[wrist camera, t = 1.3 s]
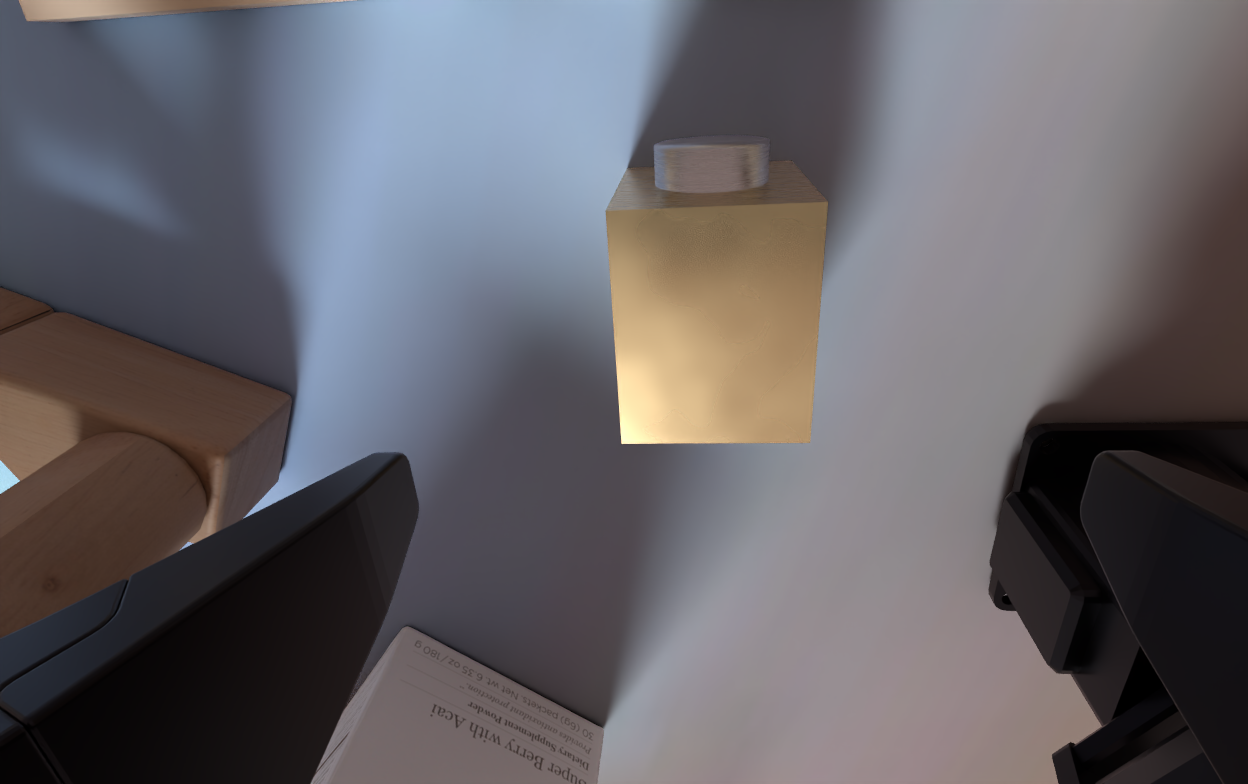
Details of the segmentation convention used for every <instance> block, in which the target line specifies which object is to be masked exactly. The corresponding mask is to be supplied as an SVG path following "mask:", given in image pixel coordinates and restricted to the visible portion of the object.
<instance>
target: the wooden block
mask: <svg viewBox="0 0 1248 784" xmlns="http://www.w3.org/2000/svg"><path fill="white" fill-rule="evenodd" d="M291 405H292V399H291V396H289V395H288V394H287V393H285V392H282V391H279V390H277V389H274V388H271V387H269V386H266V385H263V384H260V383H258V382H255V381H252V380H250V379H247V378H244V377H241V376H239V375H236V374H233V373H231V372H228V371H225V370H222V369H220V368H217V367H214V366H211V365H209V364H206V363H203V362H201V361H198V360H195V359H192V358H190V357H187V356H184V355H182V354H179V353H176V352H173V351H171V350H168V349H165V348H163V347H160V346H157V345H154V344H152V343H149V342H146V341H143V340H141V339H138V338H135V337H133V336H130V335H127V334H124V333H122V332H119V331H116V330H114V329H111V328H108V327H105V326H103V325H100V324H97V323H94V322H92V321H89V320H86V319H84V318H81V317H78V316H75V315H73V314H70V313H65V312H54V310H53V309H52V308H51V307H50V306H49V305H47V304H45V303H42V302H40V301H37V300H34V299H32V298H29V297H26V296H23V295H21V294H18V293H15V292H13V291H10V290H7V289H4V288H2V287H0V460H1V461H2V462H3V463H4V464H5V465H6V467H7V468H8V469H9V470H10V471H11V472H12V473H13V474H14V475H15V476H16V477H17V478H18V479H19V480H20V482H18V483H17V484H15V485H14V486H12V487H11V488H9V489H8V490H6V491H4V492H3V493H1V494H0V638H2V637H4V636H6V635H8V634H10V633H12V632H15V631H17V630H19V629H21V628H23V627H26V626H28V625H30V624H32V623H34V622H36V621H39V620H41V619H43V618H45V617H47V616H49V615H51V614H53V613H55V612H57V611H59V610H61V609H63V608H65V607H67V606H69V605H72V604H74V603H76V602H78V601H80V600H82V599H84V598H86V597H88V596H90V595H92V594H94V593H96V592H98V591H100V590H102V589H104V588H106V587H108V586H110V585H112V584H114V583H116V582H118V581H120V580H122V579H127V580H129V578H130V576H131V575H132V574H134V573H136V572H138V571H140V570H142V569H144V568H146V567H148V566H150V565H152V564H154V563H156V562H158V561H160V560H162V559H164V558H166V557H168V556H170V555H172V554H174V553H176V552H178V551H179V550H180V549H181V548H182V547H183V546H184V545H185V544H186V543H187V542H191V543H196V542H198V541H200V540H202V539H204V538H206V537H208V536H210V535H212V534H214V533H216V532H218V531H220V530H222V529H224V528H226V527H228V526H230V525H232V524H234V523H236V522H238V521H240V520H242V519H243V518H244V517H245V516H246V515H247V514H248V513H249V511H250V510H251V509H252V508H253V507H254V506H255V505H256V504H257V503H258V502H259V501H260V500H261V499H262V498H263V497H264V496H265V494H266V493H267V492H268V491H269V490H270V489H271V488H272V487H273V486H274V485H275V484H276V483H277V482H278V479H279V473H280V468H281V462H282V456H283V450H284V445H285V439H286V433H287V428H288V422H289V416H290V410H291Z"/></svg>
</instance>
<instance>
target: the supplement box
mask: <svg viewBox="0 0 1248 784" xmlns="http://www.w3.org/2000/svg"><path fill="white" fill-rule="evenodd" d="M603 736H604V730H603V728H602V727H600V726H597V725H595V724H593V723H591V722H589V721H588V720H586V719H584V718H582V717H580V716H578V715H576V714H574V713H572V712H570V711H569V710H567V709H565V708H563V707H561V706H559V705H557V704H556V703H554V702H552V701H550V700H548V699H546V698H544V697H542V696H540V695H539V694H537V693H535V692H533V691H531V690H529V689H527V688H525V687H523V686H521V685H520V684H518V683H516V682H514V681H512V680H510V679H508V678H506V677H505V676H503V675H501V674H499V673H497V672H495V671H493V670H491V669H489V668H487V667H485V666H484V665H482V664H480V663H478V662H476V661H474V660H472V659H470V658H468V657H466V656H464V655H463V654H461V653H459V652H457V651H455V650H453V649H451V648H449V647H447V646H446V645H444V644H442V643H440V642H438V641H436V640H434V639H433V638H431V637H429V636H427V635H425V634H423V633H421V632H419V631H417V630H415V629H413V628H411V627H408V626H407V627H404V628H402V629H401V631H400V632H399V633H398V635H397V636H396V637H395V639H394V640H393V641H392V643H391V644H390V646H389V647H388V648H387V650H386V651H385V653H384V654H383V656H382V657H381V658H380V660H379V661H378V663H377V664H376V666H375V667H374V668H373V670H372V671H371V673H370V674H369V676H368V677H367V678H366V680H365V681H364V683H363V684H362V685H361V687H360V688H359V690H358V691H357V693H356V694H355V695H354V697H353V698H352V700H351V701H350V703H349V704H348V705H347V707H346V708H345V710H344V711H343V713H342V715H341V717H340V720H339V722H338V724H337V726H336V729H335V731H334V733H333V735H332V737H331V740H330V742H329V744H328V746H327V749H326V751H325V753H324V755H323V758H322V760H321V762H320V764H319V766H318V769H317V771H316V773H315V775H314V778H313V780H312V782H311V784H597V781H598V773H599V765H600V758H601V750H602V743H603Z"/></svg>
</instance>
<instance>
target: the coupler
mask: <svg viewBox="0 0 1248 784" xmlns="http://www.w3.org/2000/svg"><path fill="white" fill-rule="evenodd" d="M769 152H770V139H768V138H765V137H759V136H748V135H712V136H696V137H686V138H678V139H671V140H666V141H662V142H658V143H656V144H654V167H637V168H627V170H626V172H625V174H624V176H623V178H622V179H621V181H620V183H619V185H618V187H617V189H616V191H615V193H614V195H613V197H612V199H611V201H610V203H609V205H608V207H607V209H606V223H607V237H608V252H609V266H610V281H611V296H612V310H613V325H614V339H615V354H616V368H617V383H618V398H619V412H620V427H621V441H622V444H654V443H705V444H720V443H810V436H811V423H812V410H813V396H814V383H815V370H816V356H817V343H818V330H819V316H820V303H821V289H822V276H823V263H824V249H825V236H826V223H827V209H828V201H827V200H826V199H825V198H824V197H823V196H822V194H821V193H820V192H819V191H818V190H817V189H816V188H815V187H814V185H813V184H812V183H811V182H810V181H809V180H808V179H807V177H806V176H805V175H804V174H803V173H802V172H801V171H800V169H799V168H798V167H797V166H796V165H795V164H794V163H793V162H792V160H789V161H769Z"/></svg>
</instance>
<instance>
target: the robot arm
mask: <svg viewBox="0 0 1248 784" xmlns="http://www.w3.org/2000/svg"><path fill="white" fill-rule="evenodd" d="M1047 439H1053V440H1052V441H1051V443H1050V444H1048V445H1047V446H1044V447H1040V445H1041V444H1042V442H1044V441H1045V440H1047ZM418 513H419V503H418V498H417V494H416V489H415V485H414V481H413V476H412V472H411V468H410V464H409V461H408V459H407V457H406V456H405V455H404V454H402V453H398V452H384V453H374V454H371V455H369V456H367V457H365V458H363V459H361V460H359V461H357V462H355V463H353V464H351V465H349V466H347V467H345V468H343V469H341V470H339V471H337V472H335V473H333V474H331V475H329V476H327V477H325V478H323V479H321V480H319V481H317V482H315V483H314V484H312V485H310V486H308V487H306V488H304V489H302V490H300V491H298V492H296V493H294V494H292V495H290V496H288V497H286V498H284V499H282V500H280V501H278V502H276V503H274V504H272V505H270V506H268V507H266V508H264V509H262V510H260V511H258V512H256V513H254V514H252V515H250V516H248V517H246V518H244V519H242V520H240V521H238V522H236V523H234V524H232V525H230V526H228V527H226V528H224V529H222V530H220V531H218V532H216V533H214V534H212V535H210V536H208V537H206V538H204V539H202V540H200V541H198V542H196V543H194V544H192V545H190V546H188V547H186V548H184V549H182V550H180V551H178V552H176V553H174V554H172V555H170V556H168V557H166V558H164V559H162V560H160V561H158V562H156V563H154V564H152V565H150V566H148V567H146V568H144V569H142V570H140V571H138V572H136V573H134V574H132V575H131V576H130V578H129V580H127V579H122V580H120V581H118V582H116V583H114V584H112V585H110V586H108V587H106V588H104V589H102V590H100V591H98V592H96V593H94V594H92V595H90V596H88V597H86V598H84V599H82V600H80V601H78V602H76V603H74V604H72V605H69V606H67V607H65V608H63V609H61V610H59V611H57V612H55V613H53V614H51V615H49V616H47V617H45V618H43V619H41V620H39V621H36V622H34V623H32V624H30V625H28V626H26V627H23V628H21V629H19V630H17V631H15V632H12V633H10V634H8V635H6V636H4V637H2V638H0V784H311V782H312V780H313V778H314V775H315V773H316V771H317V769H318V766H319V764H320V762H321V760H322V758H323V755H324V753H325V751H326V749H327V746H328V744H329V742H330V740H331V737H332V735H333V733H334V731H335V729H336V726H337V724H338V722H339V720H340V717H341V715H342V713H343V711H344V709H345V706H346V704H347V702H348V700H349V697H350V695H351V693H352V691H353V688H354V686H355V684H356V682H357V680H358V677H359V675H360V673H361V671H362V668H363V666H364V664H365V662H366V660H367V657H368V655H369V653H370V651H371V648H372V646H373V644H374V642H375V640H376V637H377V635H378V633H379V631H380V628H381V626H382V624H383V621H384V619H385V617H386V614H387V612H388V609H389V606H390V603H391V600H392V598H393V595H394V591H395V588H396V585H397V582H398V579H399V576H400V573H401V569H402V566H403V563H404V560H405V557H406V554H407V551H408V547H409V544H410V541H411V538H412V535H413V532H414V528H415V525H416V522H417V519H418ZM990 566H991V568H992V569H993V573H992V577H991V581H990V585H989V595H990V597H991V599H992V601H993V603H994V604H995V606H996V607H997V608H999V609H1001V610H1006V611H1017V613H1018V615H1019V616H1020V618H1021V620H1022V621H1023V623H1024V625H1025V627H1026V628H1027V630H1028V632H1029V634H1030V635H1031V637H1032V639H1033V641H1034V642H1035V644H1036V646H1037V648H1038V649H1039V651H1040V653H1041V654H1042V656H1043V658H1044V660H1045V661H1046V663H1047V664H1048V665H1049V666H1050V667H1051V668H1052V669H1053V670H1054V671H1055V672H1056V673H1059V674H1071V676H1072V677H1073V679H1074V681H1075V682H1076V684H1077V686H1078V687H1079V689H1080V691H1081V692H1082V694H1083V696H1084V697H1085V699H1086V701H1087V702H1088V704H1089V706H1090V707H1091V709H1092V710H1093V712H1094V714H1095V715H1096V717H1097V719H1098V720H1099V722H1100V724H1101V725H1102V727H1101V728H1099V729H1098V730H1096V731H1095V732H1093V733H1092V734H1090V735H1089V736H1087V737H1086V738H1084V739H1083V740H1081V741H1080V742H1078V743H1077V744H1074V743H1071V742H1070V743H1068V744H1067V745H1065V746H1064V747H1062V748H1061V749H1059V750H1058V751H1057V752H1055V753H1054V754H1052V759H1053V763H1054V767H1055V771H1056V775H1057V779H1058V783H1059V784H1248V422H1184V423H1053V424H1041V425H1038V426H1036V427H1034V428H1032V429H1031V430H1030V431H1029V432H1028V433H1027V434H1026V436H1025V439H1024V442H1023V446H1022V450H1021V455H1020V459H1019V463H1018V467H1017V471H1016V476H1015V480H1014V484H1013V488H1012V492H1010V493H1009V494H1008V496H1007V497H1006V498H1005V499H1004V502H1003V506H1002V511H1001V515H1000V519H999V523H998V528H997V532H996V536H995V541H994V545H993V549H992V553H991V558H990ZM1005 594H1007V595H1005ZM1004 595H1005V596H1004Z"/></svg>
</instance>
